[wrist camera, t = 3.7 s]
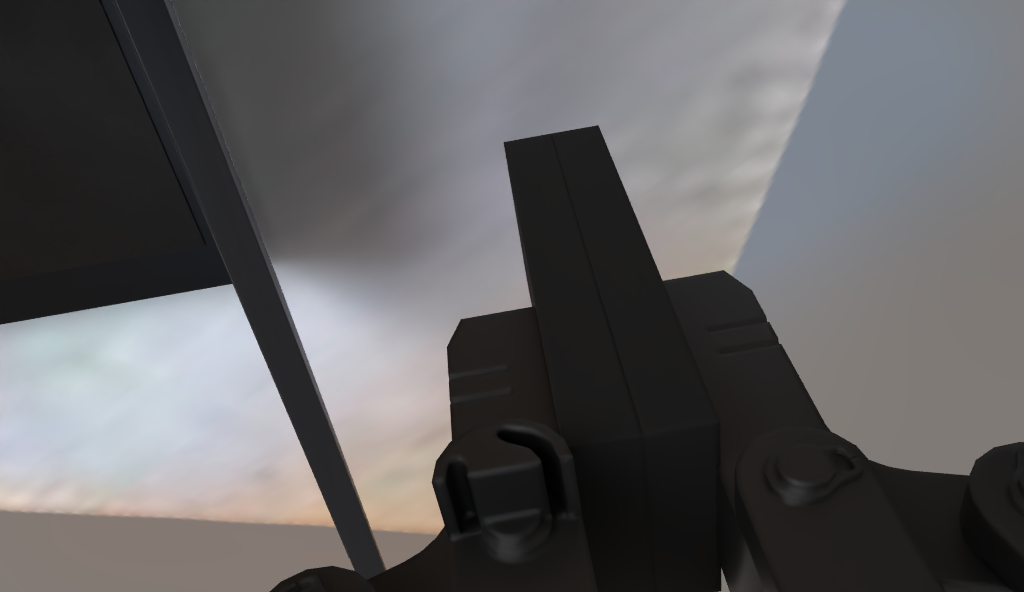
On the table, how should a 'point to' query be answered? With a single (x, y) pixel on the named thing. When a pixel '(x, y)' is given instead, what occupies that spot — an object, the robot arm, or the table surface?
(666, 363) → the robot arm
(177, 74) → the laptop screen
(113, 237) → the laptop
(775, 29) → the table surface
